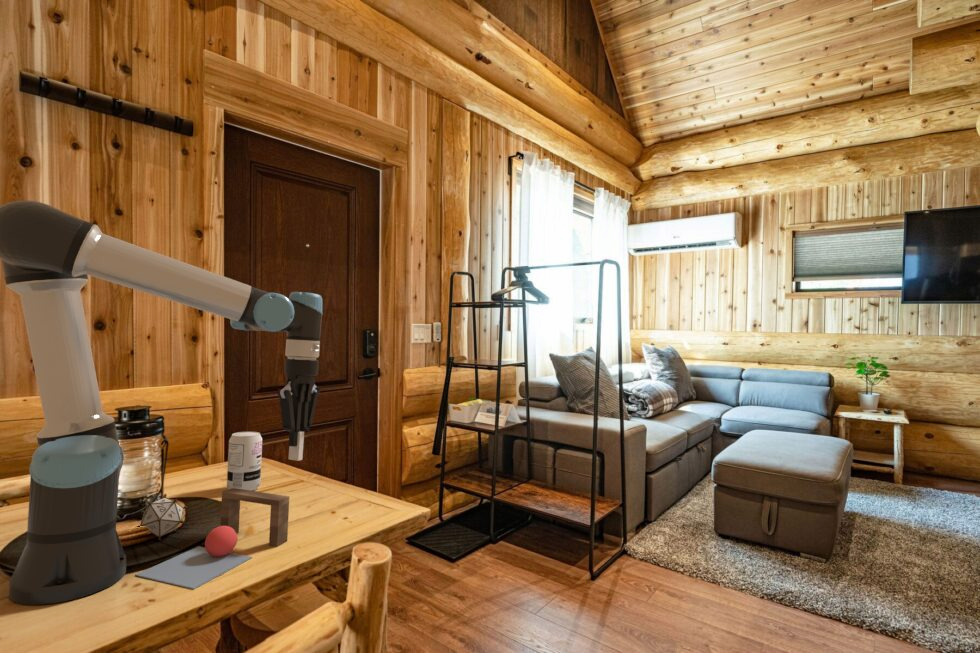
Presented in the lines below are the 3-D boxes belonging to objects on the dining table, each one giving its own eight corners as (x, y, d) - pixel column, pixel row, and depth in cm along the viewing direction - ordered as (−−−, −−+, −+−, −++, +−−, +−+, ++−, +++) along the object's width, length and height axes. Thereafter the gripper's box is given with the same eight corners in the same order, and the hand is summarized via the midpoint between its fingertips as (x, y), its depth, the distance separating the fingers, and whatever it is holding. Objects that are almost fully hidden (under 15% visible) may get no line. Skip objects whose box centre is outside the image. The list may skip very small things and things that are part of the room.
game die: (171, 553, 106) (201, 516, 106) (128, 550, 99) (160, 511, 99) (164, 521, 112) (192, 486, 111) (123, 517, 105) (153, 480, 105)
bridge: (277, 546, 102) (279, 500, 102) (219, 535, 106) (222, 491, 107) (287, 541, 105) (289, 496, 105) (231, 530, 109) (233, 487, 109)
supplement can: (227, 486, 140) (229, 431, 141) (259, 483, 144) (262, 430, 144) (225, 494, 133) (228, 437, 133) (260, 491, 137) (262, 436, 137)
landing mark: (193, 589, 84) (193, 588, 84) (135, 575, 88) (135, 574, 88) (251, 558, 97) (252, 556, 97) (198, 547, 100) (198, 546, 100)
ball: (247, 538, 100) (229, 564, 96) (224, 534, 102) (206, 560, 97) (236, 522, 97) (217, 548, 93) (212, 517, 98) (193, 543, 94)
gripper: (297, 359, 112) (290, 467, 111) (332, 359, 124) (326, 456, 123) (269, 357, 114) (262, 463, 113) (306, 357, 126) (300, 452, 125)
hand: (295, 459), depth 118 cm, fingers closed
